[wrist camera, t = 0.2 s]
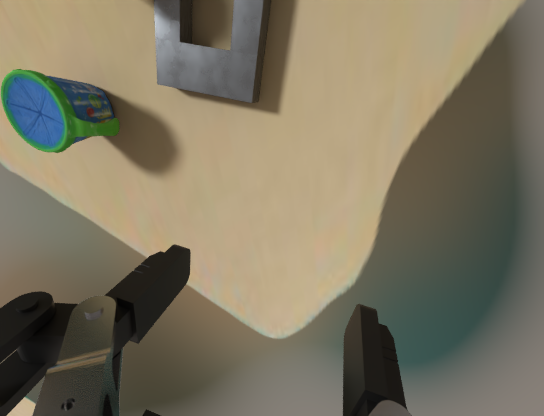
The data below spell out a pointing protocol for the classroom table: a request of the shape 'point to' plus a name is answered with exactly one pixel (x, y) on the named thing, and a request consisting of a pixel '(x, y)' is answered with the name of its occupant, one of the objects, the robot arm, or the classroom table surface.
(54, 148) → the snack cup
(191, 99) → the classroom table surface
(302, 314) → the classroom table surface
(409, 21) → the classroom table surface
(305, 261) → the classroom table surface
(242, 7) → the plate
